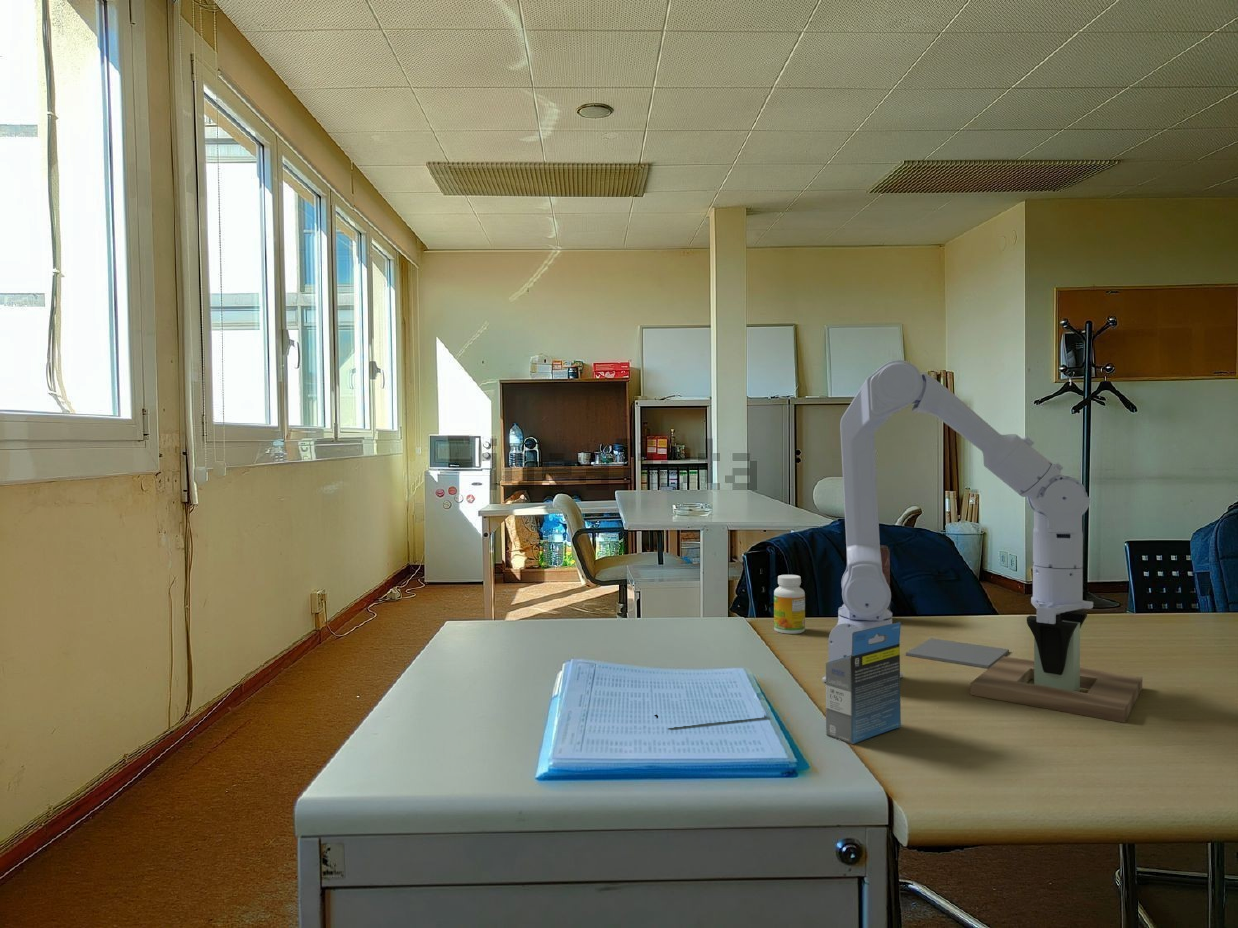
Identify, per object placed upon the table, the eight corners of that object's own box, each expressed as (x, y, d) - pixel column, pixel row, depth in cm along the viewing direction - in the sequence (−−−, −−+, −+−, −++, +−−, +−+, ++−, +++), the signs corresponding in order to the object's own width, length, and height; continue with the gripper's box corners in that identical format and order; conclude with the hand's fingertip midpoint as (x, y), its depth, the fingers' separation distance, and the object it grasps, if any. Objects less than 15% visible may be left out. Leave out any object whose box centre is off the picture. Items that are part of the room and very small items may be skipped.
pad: (988, 668, 114) (988, 665, 114) (905, 655, 121) (905, 652, 121) (1009, 651, 123) (1009, 649, 123) (931, 640, 131) (931, 638, 131)
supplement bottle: (767, 629, 140) (767, 575, 140) (792, 626, 142) (792, 573, 142) (786, 635, 135) (786, 579, 135) (811, 632, 137) (811, 577, 137)
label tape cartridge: (873, 718, 93) (873, 615, 93) (902, 728, 90) (902, 621, 89) (824, 735, 88) (824, 625, 87) (853, 745, 84) (852, 632, 84)
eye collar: (1124, 722, 91) (1124, 709, 91) (970, 694, 102) (970, 683, 102) (1142, 688, 104) (1142, 676, 104) (1003, 666, 115) (1003, 656, 115)
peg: (1073, 698, 100) (1073, 628, 99) (1034, 691, 102) (1034, 623, 102) (1079, 690, 103) (1080, 622, 103) (1041, 683, 106) (1041, 617, 106)
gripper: (1082, 575, 94) (1082, 687, 94) (1101, 562, 105) (1101, 662, 106) (1018, 570, 99) (1018, 677, 99) (1043, 558, 110) (1043, 653, 110)
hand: (1057, 668), depth 103 cm, fingers closed on peg, 4 cm apart
